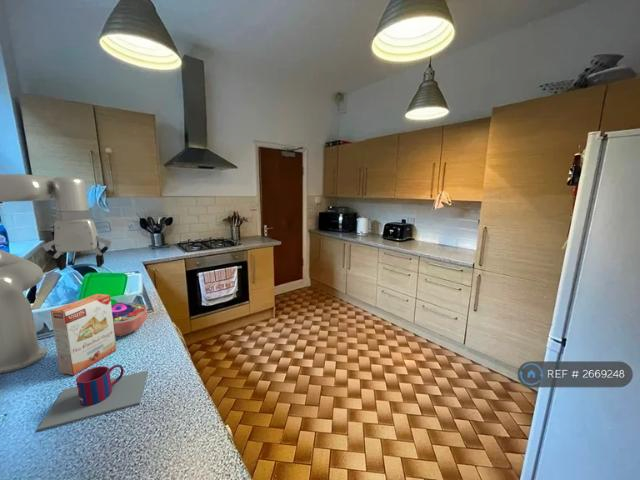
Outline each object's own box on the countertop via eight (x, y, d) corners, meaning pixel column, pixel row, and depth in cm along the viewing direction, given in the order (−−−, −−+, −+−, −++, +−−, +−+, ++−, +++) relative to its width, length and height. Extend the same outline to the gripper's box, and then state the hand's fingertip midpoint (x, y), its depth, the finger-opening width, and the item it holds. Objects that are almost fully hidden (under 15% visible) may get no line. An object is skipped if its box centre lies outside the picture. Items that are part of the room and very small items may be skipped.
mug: (77, 397, 71) (73, 374, 70) (122, 378, 79) (119, 357, 78) (82, 410, 67) (78, 386, 66) (129, 388, 75) (126, 367, 74)
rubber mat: (37, 431, 62) (37, 429, 62) (64, 391, 74) (63, 389, 74) (139, 404, 70) (139, 402, 70) (148, 372, 83) (147, 370, 82)
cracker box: (74, 376, 80) (64, 312, 77) (59, 373, 81) (48, 309, 78) (118, 350, 94) (110, 294, 90) (104, 348, 95) (96, 292, 91)
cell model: (100, 350, 93) (96, 320, 91) (92, 330, 107) (88, 303, 105) (155, 333, 105) (152, 306, 103) (141, 316, 119) (139, 292, 117)
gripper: (31, 218, 78) (41, 273, 81) (104, 216, 85) (110, 267, 88) (44, 215, 85) (52, 267, 88) (110, 214, 92) (116, 262, 95)
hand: (81, 267), depth 88 cm, fingers open, 9 cm apart
